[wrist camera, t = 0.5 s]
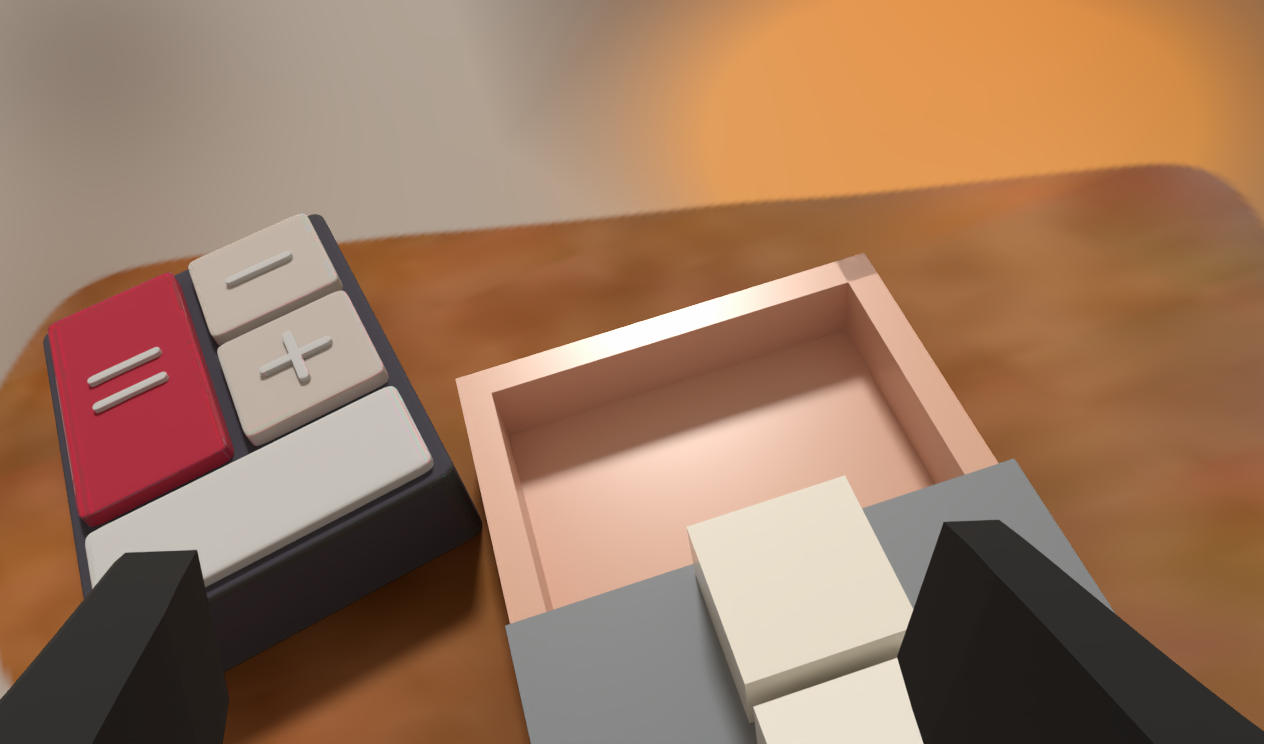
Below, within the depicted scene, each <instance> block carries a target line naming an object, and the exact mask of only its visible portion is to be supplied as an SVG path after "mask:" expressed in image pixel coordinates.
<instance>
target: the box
mask: <svg viewBox="0 0 1264 744" xmlns="http://www.w3.org/2000/svg"><path fill="white" fill-rule="evenodd" d="M456 383H457V387H458V392H459V396H460V401H461V405H462V410H463V414H464V419H465V423H466V428H467V432H468V437H469V441H470V446H471V450H472V455H473V459H474V464H475V468H476V473H477V477H478V482H479V486H480V491H481V495H482V500H483V504H484V509H485V513H486V518H487V522H488V527H489V531H490V536H491V540H492V545H493V549H494V554H495V558H496V563H497V567H498V572H499V576H500V581H501V585H502V590H503V594H504V599H505V603H506V608H507V612H508V617H509V621H510V624H511V623H514V622H517V621H520V620H523V619H526V618H529V617H532V616H536V615H539V614H542V613H545V612H548V611H551V610H554V609H557V608H560V607H563V606H566V605H569V604H572V603H575V602H578V601H581V600H584V599H587V598H590V597H593V596H597V595H600V594H603V593H606V592H609V591H612V590H615V589H618V588H621V587H624V586H627V585H630V584H633V583H636V582H639V581H642V580H645V579H648V578H651V577H654V576H657V575H661V574H664V573H667V572H670V571H673V570H676V569H679V568H682V567H685V566H688V565H691V564H693V561H692V555H691V550H690V544H689V539H688V533H687V528H686V527H687V526H690V525H694V524H697V523H700V522H703V521H706V520H709V519H712V518H715V517H718V516H721V515H724V514H727V513H730V512H734V511H737V510H740V509H743V508H746V507H749V506H752V505H755V504H758V503H761V502H764V501H767V500H770V499H773V498H777V497H780V496H783V495H786V494H789V493H792V492H795V491H798V490H801V489H804V488H807V487H810V486H813V485H817V484H820V483H823V482H826V481H829V480H832V479H835V478H838V477H841V476H844V475H845V476H846V478H847V480H848V482H849V484H850V486H851V488H852V490H853V492H854V494H855V496H856V498H857V500H858V502H859V504H860V506H861V508H865V507H868V506H871V505H874V504H877V503H880V502H883V501H886V500H889V499H892V498H895V497H898V496H901V495H904V494H907V493H911V492H914V491H917V490H920V489H923V488H926V487H929V486H932V485H935V484H938V483H941V482H944V481H947V480H950V479H953V478H956V477H959V476H962V475H965V474H968V473H971V472H975V471H978V470H981V469H984V468H987V467H990V466H993V465H996V464H998V462H997V460H996V459H995V457H994V456H993V454H992V453H991V451H990V449H989V448H988V446H987V445H986V443H985V442H984V440H983V438H982V437H981V435H980V434H979V432H978V431H977V429H976V427H975V426H974V424H973V423H972V421H971V420H970V418H969V416H968V415H967V413H966V412H965V410H964V409H963V407H962V406H961V404H960V402H959V401H958V399H957V398H956V396H955V395H954V393H953V391H952V390H951V388H950V387H949V385H948V384H947V382H946V380H945V379H944V377H943V376H942V374H941V373H940V371H939V369H938V368H937V366H936V365H935V363H934V362H933V360H932V358H931V357H930V355H929V354H928V352H927V351H926V349H925V347H924V346H923V344H922V343H921V341H920V340H919V338H918V336H917V335H916V333H915V332H914V330H913V329H912V327H911V326H910V324H909V322H908V321H907V319H906V318H905V316H904V315H903V313H902V311H901V310H900V308H899V307H898V305H897V304H896V302H895V300H894V299H893V297H892V296H891V294H890V293H889V291H888V289H887V288H886V286H885V285H884V283H883V282H882V280H881V278H880V277H879V275H878V274H877V272H876V271H875V269H874V267H873V266H872V264H871V263H870V261H869V260H868V258H867V256H866V255H865V253H862V254H859V255H856V256H852V257H849V258H846V259H843V260H839V261H836V262H833V263H830V264H826V265H823V266H820V267H817V268H813V269H810V270H807V271H804V272H801V273H797V274H794V275H791V276H788V277H784V278H781V279H778V280H775V281H771V282H768V283H765V284H762V285H758V286H755V287H752V288H749V289H745V290H742V291H739V292H736V293H732V294H729V295H726V296H723V297H720V298H716V299H713V300H710V301H707V302H703V303H700V304H697V305H694V306H690V307H687V308H684V309H681V310H677V311H674V312H671V313H668V314H664V315H661V316H658V317H655V318H651V319H648V320H645V321H642V322H639V323H635V324H632V325H629V326H626V327H622V328H619V329H616V330H613V331H609V332H606V333H603V334H600V335H596V336H593V337H590V338H587V339H583V340H580V341H577V342H574V343H570V344H567V345H564V346H561V347H558V348H554V349H551V350H548V351H545V352H541V353H538V354H535V355H532V356H528V357H525V358H522V359H519V360H515V361H512V362H509V363H506V364H502V365H499V366H496V367H493V368H490V369H486V370H483V371H480V372H477V373H473V374H470V375H467V376H464V377H460V378H457V379H456Z"/></svg>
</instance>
